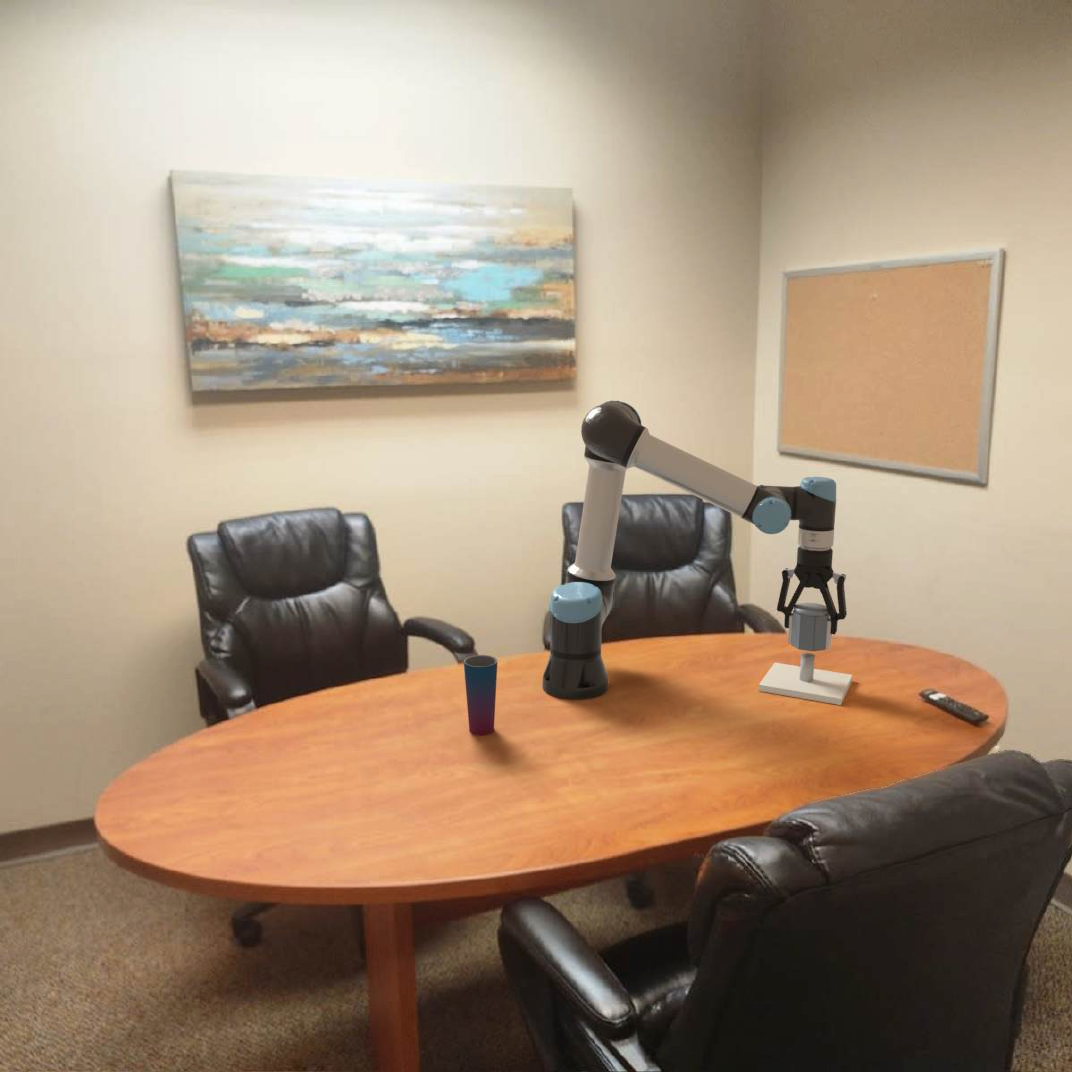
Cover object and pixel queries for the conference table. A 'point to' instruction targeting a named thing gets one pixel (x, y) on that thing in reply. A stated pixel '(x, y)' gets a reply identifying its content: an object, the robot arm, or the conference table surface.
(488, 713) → the cup
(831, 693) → the stud board
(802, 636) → the cap
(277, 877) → the conference table surface
